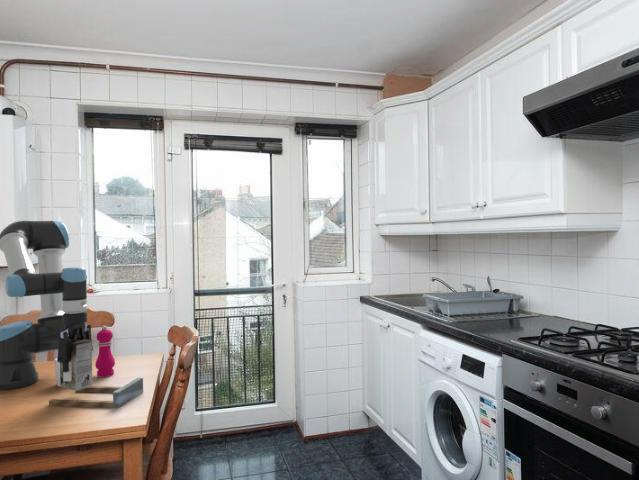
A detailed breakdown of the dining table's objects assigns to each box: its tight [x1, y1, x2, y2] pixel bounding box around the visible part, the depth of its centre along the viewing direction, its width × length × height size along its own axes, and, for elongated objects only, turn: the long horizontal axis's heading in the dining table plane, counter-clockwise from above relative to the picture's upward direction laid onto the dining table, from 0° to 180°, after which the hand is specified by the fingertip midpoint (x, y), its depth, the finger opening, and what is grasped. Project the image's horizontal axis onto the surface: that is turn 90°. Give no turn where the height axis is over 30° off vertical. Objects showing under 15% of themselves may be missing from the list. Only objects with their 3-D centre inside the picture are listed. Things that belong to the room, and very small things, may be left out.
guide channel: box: [48, 377, 144, 409], centre depth 153 cm, size 25×15×5 cm, turn 83°
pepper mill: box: [94, 325, 116, 378], centre depth 181 cm, size 7×7×20 cm
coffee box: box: [59, 339, 93, 392], centre depth 154 cm, size 9×6×16 cm
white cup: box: [54, 357, 60, 387], centre depth 170 cm, size 8×8×10 cm
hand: (76, 377), depth 154 cm, fingers closed on coffee box, 8 cm apart
